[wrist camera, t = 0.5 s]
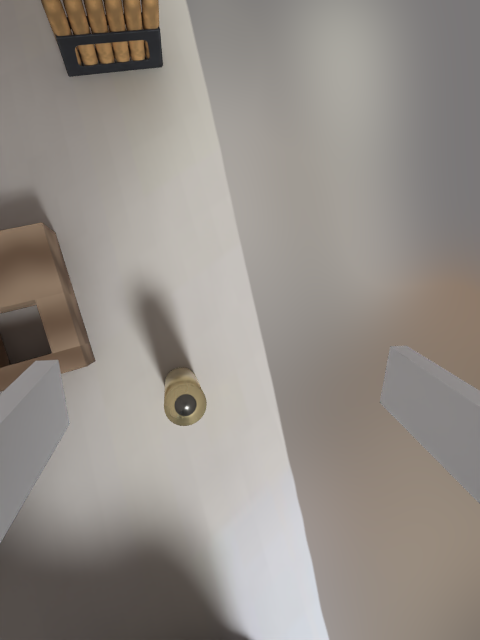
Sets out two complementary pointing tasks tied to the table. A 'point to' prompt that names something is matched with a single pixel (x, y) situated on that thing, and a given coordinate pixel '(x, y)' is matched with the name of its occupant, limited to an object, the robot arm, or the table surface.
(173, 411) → the tan cylinder
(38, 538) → the table surface
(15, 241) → the block
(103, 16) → the ammunition clip
